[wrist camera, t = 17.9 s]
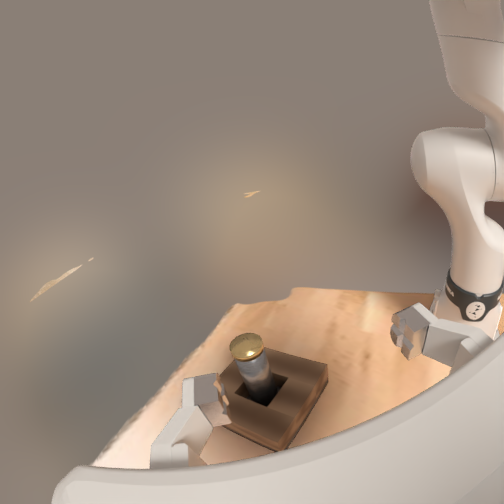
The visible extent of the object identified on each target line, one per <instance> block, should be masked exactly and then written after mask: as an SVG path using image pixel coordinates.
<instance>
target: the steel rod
mask: <svg viewBox="0 0 504 504" xmlns="http://www.w3.org/2000/svg"><path fill="white" fill-rule="evenodd" d="M230 351H231V353H232V356H233V357H234V359H235V362H236V364H237V366H238V369H239V371H240V373H241V376H242V378H243V380H244V383H245V385H246V387H247V389H248V392H249V394H250V396H251V398H252V400H253V402H256V403H258V404H260V405H263V406H265V407H268V406H269V404H270V403H271V402H272V400H273V399H274V398H275V396H276V395H277V393H278V391H277V388H276V385H275V382H274V378H273V375H272V372H271V369H270V366H269V362H268V359H267V356H266V353H265V350H264V345H263V342H262V339H261V337H260V336H259V335H257V334H254V333H245V334H242V335H239V336H237V337H236V338H235V339H234V340H233V341H232V342H231V344H230Z"/></svg>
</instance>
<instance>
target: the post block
mask: <svg viewBox="0 0 504 504" xmlns="http://www.w3.org/2000/svg"><path fill="white" fill-rule="evenodd" d="M264 350H265V353H266V356H267V359H268V362H269V366H270V369H271V372H272V375H273V378H274V382H275V385H276V388H277V391H278V393H277V395H276V396H275V398H274V399H273V400H272V402H271V403H270V404H269V406H268V407H265V406H263V405H260V404H258V403H256V402H253V400H252V398H251V396H250V394H249V392H248V389H247V387H246V385H245V383H244V380H243V378H242V376H241V373H240V371H239V369H238V366H237V364H236V362H235V360H234V361H233V362H232V363H231V364H230V365H229V366H228V367H227V368H226V369H225V370H224V372H223V373H222V374H221V375H220V380H221V383H222V384H224V386H225V389H226V391H227V395H228V399H229V404H228V408H229V410H230V414H231V421H232V423H230V424H226V425H221V426H223V427H225V428H227V429H229V430H231V431H233V432H235V433H237V434H238V435H240V436H242V437H244V438H247V439H249V440H251V441H253V442H255V443H257V444H259V445H261V446H264V447H266V448H268V449H270V450H273V451H275V452H279V451H282V450H286V449H287V448H288V446H289V445H290V444H291V442H292V441H293V439H294V438H295V436H296V435H297V433H298V431H299V430H300V428H301V427H302V425H303V424H304V422H305V421H306V419H307V417H308V416H309V414H310V412H311V411H312V409H313V407H314V406H315V404H316V402H317V401H318V399H319V397H320V395H321V394H322V392H323V390H324V388H325V387H326V385H327V383H328V369H327V364H324V363H320V362H316V361H312V360H308V359H304V358H300V357H297V356H293V355H289V354H286V353H282V352H279V351H275V350H272V349H268V348H265V347H264Z"/></svg>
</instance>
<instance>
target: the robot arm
mask: <svg viewBox="0 0 504 504" xmlns="http://www.w3.org/2000/svg"><path fill="white" fill-rule="evenodd" d="M500 2H501V0H429V3H430V8H431V12H432V16H433V20H434V24H435V27H436V31H437V34H441V35H438V39H439V43H440V47H441V51H442V55H443V60H444V65H445V70H446V75H447V80H448V83H449V85H450V87H451V88H452V90H453V91H454V93H455V94H456V95H457V96H458V97H459V98H461V99H462V100H463V101H464V102H466V103H467V104H469V105H470V106H472V107H474V108H475V109H477V110H479V111H481V112H482V113H484V115H485V120H486V127H485V128H482V129H476V128H458V127H444V128H438V129H433V130H429V131H424V132H421V133H420V134H419V135H418V136H417V138H416V139H415V141H414V143H413V146H412V150H411V167H412V171H413V174H414V177H415V179H416V181H417V183H418V184H419V185H420V187H421V188H422V189H423V190H424V191H425V192H426V193H427V194H428V195H429V196H431V197H432V198H433V199H434V200H435V201H436V202H437V203H438V204H439V205H440V207H441V208H442V209H443V211H444V213H445V214H446V216H447V219H448V221H449V224H450V227H451V232H452V259H451V268H450V269H449V271H448V274H447V277H446V281H445V284H444V287H443V289H442V290H440V289H436V290H435V294H434V300H433V302H432V305H431V307H430V310H428V309H427V308H425V307H424V306H423V305H422V304H421V303H416V304H414V305H412V306H410V307H408V308H406V309H403V310H401V311H399V312H397V313H395V314H393V316H392V322H393V323H394V324H393V325H392V327H391V331H390V334H391V338H392V341H393V343H394V344H395V345H396V346H398V347H401V352H402V354H403V355H404V356H405V357H406V358H407V360H410V359H412V358H414V357H416V356H418V355H420V354H423V355H425V356H427V357H430V358H432V359H434V360H436V361H439V362H441V363H443V364H446V365H448V366H450V367H452V368H451V371H450V373H449V375H448V376H447V377H445V378H444V379H442V380H441V381H439V382H438V383H436V384H435V385H433V386H431V387H430V388H428V389H427V390H425V391H423V392H421V393H420V394H418V395H416V396H415V397H413V398H411V399H409V400H407V401H406V402H404V403H402V404H400V405H398V406H396V407H394V408H392V409H390V410H388V411H386V412H384V413H382V414H380V415H378V416H376V417H374V418H371V419H369V420H367V421H365V422H363V423H360V424H358V425H356V426H353V427H351V428H348V429H346V430H343V431H341V432H338V433H335V434H333V435H330V436H327V437H325V438H322V439H319V440H316V441H313V442H310V443H307V444H303V445H300V446H297V447H293V448H290V449H286V450H282V451H279V452H275V453H271V454H266V455H262V456H258V457H253V458H248V459H243V460H238V461H232V462H226V463H219V464H212V465H207V464H206V463H205V462H204V461H203V460H202V459H201V458H200V457H199V455H200V453H201V452H202V450H203V448H204V446H205V444H206V442H207V440H208V438H209V436H210V434H211V432H212V430H213V427H216V426H221V425H226V424H230V423H232V421H231V414H230V410H229V408H228V404H229V399H228V395H227V391H226V389H225V386H224V384H222V383H221V380H220V376H219V374H218V373H212V374H207V375H201V376H196V377H191V378H185V379H184V380H183V383H182V408H179V409H178V410H177V411H176V413H175V414H174V415H173V417H172V418H171V419H170V421H169V422H168V423H167V425H166V426H165V427H164V429H163V430H162V431H161V433H160V434H159V435H158V437H157V438H156V439H155V441H154V442H153V443H152V445H151V455H150V469H124V468H107V467H96V466H87V465H79V466H77V467H75V468H74V469H72V470H71V471H70V472H69V473H68V474H67V475H66V476H65V477H64V478H63V479H62V480H61V481H60V482H59V483H58V485H57V486H56V489H55V491H54V494H53V498H52V503H51V504H504V333H502V334H501V335H499V331H498V328H497V327H498V323H499V320H500V316H501V312H502V306H501V303H500V301H499V300H500V297H501V294H502V290H503V276H504V230H503V229H502V227H501V226H500V225H498V224H497V223H496V222H495V221H493V220H492V219H490V218H489V217H487V216H486V215H485V214H484V203H485V202H486V201H501V202H504V43H503V42H504V19H503V16H502V12H501V8H500ZM447 35H454V36H447ZM463 36H465V37H463ZM472 37H474V38H472ZM480 38H482V39H480ZM487 39H489V40H487ZM493 40H495V41H493ZM498 41H501V42H498Z"/></svg>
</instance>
